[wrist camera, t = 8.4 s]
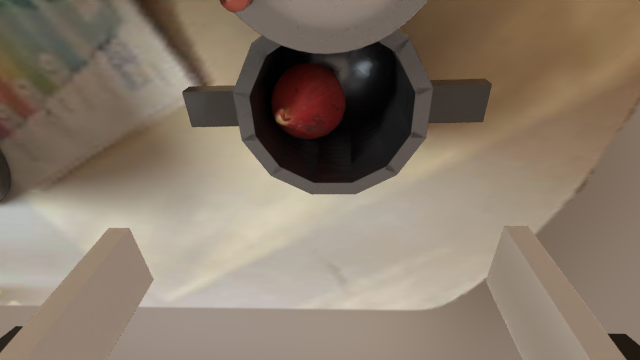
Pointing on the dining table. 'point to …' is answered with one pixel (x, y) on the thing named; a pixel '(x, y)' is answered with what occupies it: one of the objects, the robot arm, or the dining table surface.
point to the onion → (308, 101)
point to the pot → (358, 119)
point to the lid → (324, 21)
